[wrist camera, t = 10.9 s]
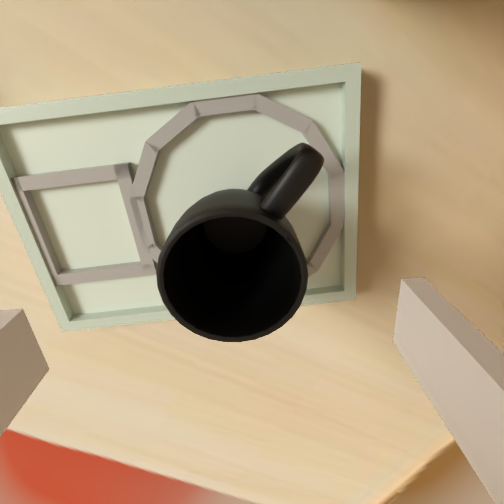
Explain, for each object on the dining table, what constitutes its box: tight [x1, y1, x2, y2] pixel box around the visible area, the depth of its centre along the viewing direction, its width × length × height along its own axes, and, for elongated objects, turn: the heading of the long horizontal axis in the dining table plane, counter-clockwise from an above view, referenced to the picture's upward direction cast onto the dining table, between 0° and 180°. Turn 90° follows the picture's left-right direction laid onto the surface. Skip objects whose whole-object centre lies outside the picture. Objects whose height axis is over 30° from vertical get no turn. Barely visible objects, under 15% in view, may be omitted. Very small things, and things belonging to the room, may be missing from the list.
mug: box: [156, 142, 324, 342], centre depth 21 cm, size 8×12×10 cm
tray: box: [0, 62, 361, 332], centre depth 26 cm, size 18×26×2 cm
